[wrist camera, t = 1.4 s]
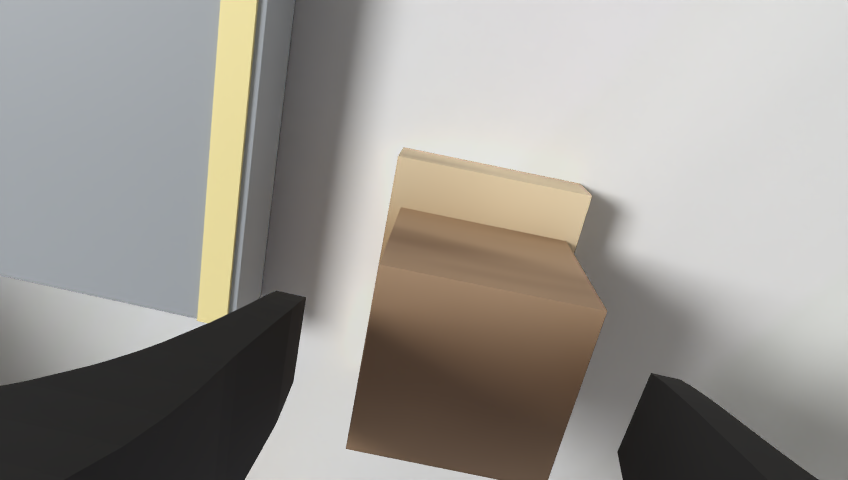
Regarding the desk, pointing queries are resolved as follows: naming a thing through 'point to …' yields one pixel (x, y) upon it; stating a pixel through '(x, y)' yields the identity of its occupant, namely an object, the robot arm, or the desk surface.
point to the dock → (141, 147)
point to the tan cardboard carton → (476, 320)
